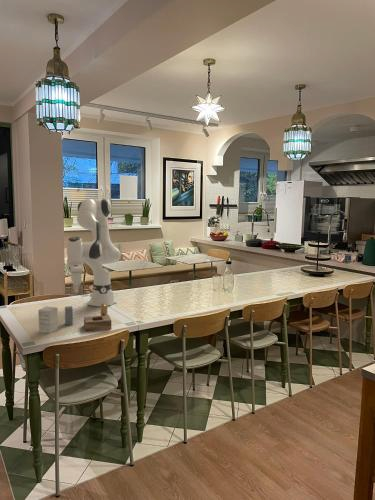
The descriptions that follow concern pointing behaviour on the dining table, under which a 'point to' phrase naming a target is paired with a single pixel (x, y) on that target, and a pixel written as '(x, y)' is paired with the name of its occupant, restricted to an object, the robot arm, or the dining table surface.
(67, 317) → the square bit
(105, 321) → the socket block
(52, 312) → the supplement box
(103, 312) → the round bit
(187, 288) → the dining table surface
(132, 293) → the dining table surface
